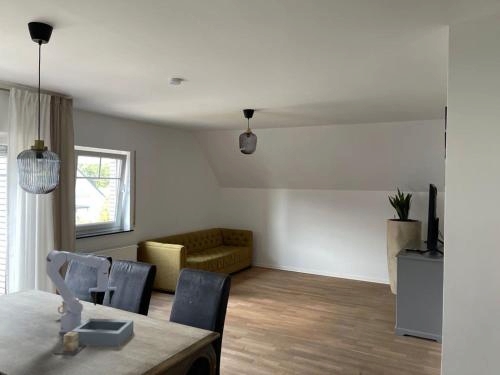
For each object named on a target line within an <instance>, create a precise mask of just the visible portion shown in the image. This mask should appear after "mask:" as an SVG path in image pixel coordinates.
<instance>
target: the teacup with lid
mask: <svg viewBox="0 0 500 375" xmlns="http://www.w3.org/2000/svg"><path fill="white" fill-rule="evenodd" d="M75 298H76V299H77V301H78V302H79V303H80V299H79V298H78V297H75ZM61 303H62V304H61V305H59V306H58V308H57V312H58V314H60V315H61V316H62V315H63V314H64V313H66V312H67V310H66V309H65V304H64V302H63V300H62V301H61ZM61 308H62V311H60V309H61Z"/></svg>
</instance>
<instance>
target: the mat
mask: <svg viewBox="0 0 500 375" xmlns="http://www.w3.org/2000/svg"><path fill="white" fill-rule="evenodd" d="M86 347H87V344H78V348H76V349H75V350H74V351H63V349H64V345H63V346H62V347H61V348H58V349H57V350H56V351H55V352H53V355H60V356H61V355H62V356H76V355H78V353H80V352H81V351H82V350H84V349H85V348H86Z"/></svg>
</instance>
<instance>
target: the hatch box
mask: <svg viewBox="0 0 500 375" xmlns="http://www.w3.org/2000/svg"><path fill="white" fill-rule="evenodd" d="M71 332H78V345H90V346H91V345H93V346H94V345H95V346H111V347H119V346H120V345H121V344H122V343H123V342H125V340H126V339H128V337H130V336H131V335H132V334H133V333H134V320H133V319H131V320H129V319H109V318H91V317H90V318H88V319H87V320H85V321H84V322H81V325H79V326H78V327H76V328H75V329H73V330H72V331H71Z"/></svg>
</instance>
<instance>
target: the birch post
mask: <svg viewBox="0 0 500 375" xmlns="http://www.w3.org/2000/svg"><path fill="white" fill-rule="evenodd" d="M78 345H79V344H78V332H68V333H65V334H64V335H63V346H64V349H63V351H74V350H75V349H76V348H78Z"/></svg>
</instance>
